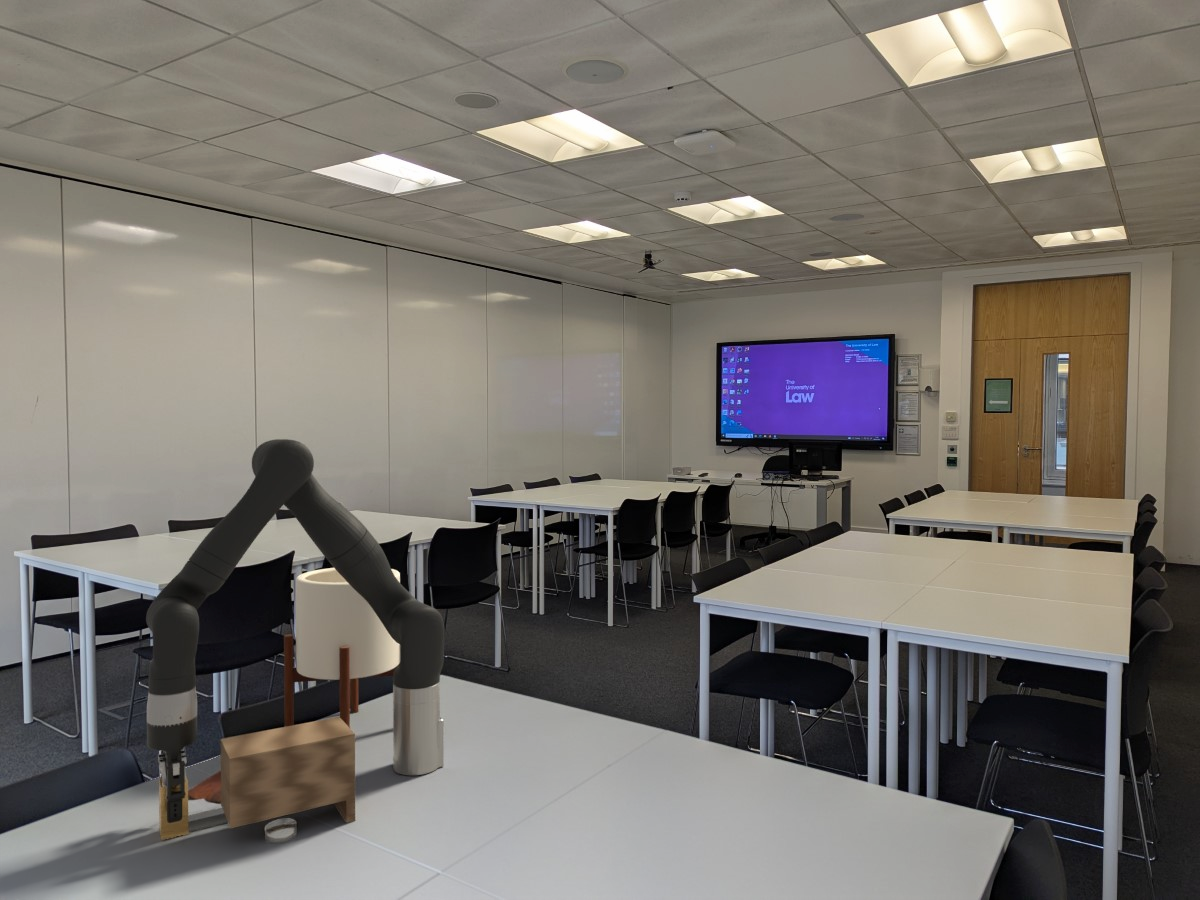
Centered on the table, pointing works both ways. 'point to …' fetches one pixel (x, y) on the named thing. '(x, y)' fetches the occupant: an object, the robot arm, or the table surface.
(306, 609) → the plant pot with stand
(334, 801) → the walnut cabinet
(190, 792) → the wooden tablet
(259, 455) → the robot arm
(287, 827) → the steel token
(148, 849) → the table surface
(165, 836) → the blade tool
